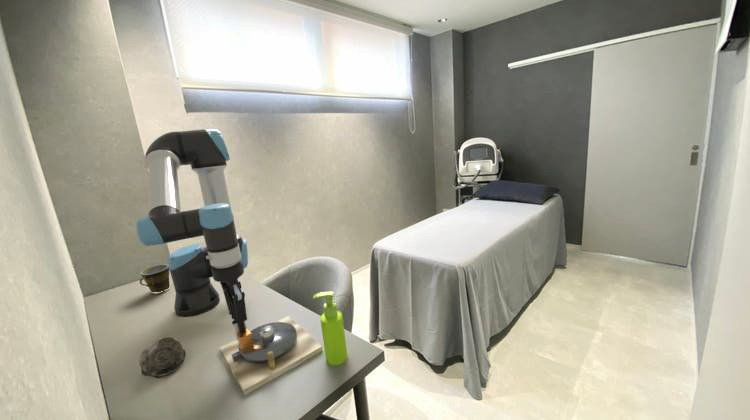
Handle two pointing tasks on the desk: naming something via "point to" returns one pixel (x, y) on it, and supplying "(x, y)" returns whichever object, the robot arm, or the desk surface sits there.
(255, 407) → the desk surface
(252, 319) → the desk surface
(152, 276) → the ceramic cup
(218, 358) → the desk surface
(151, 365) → the fossil
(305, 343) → the post base
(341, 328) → the soap dispenser
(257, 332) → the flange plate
